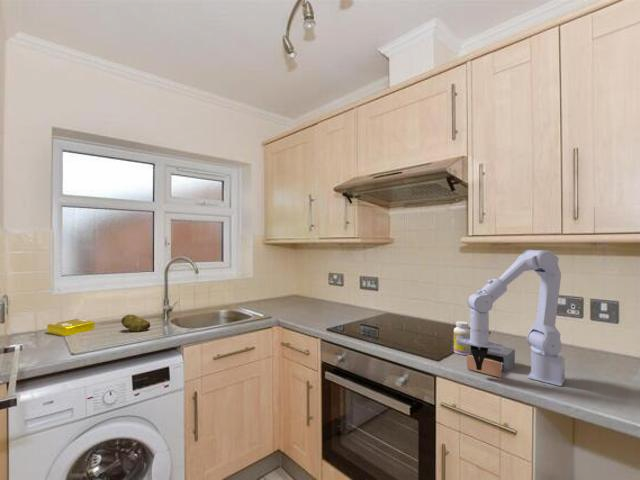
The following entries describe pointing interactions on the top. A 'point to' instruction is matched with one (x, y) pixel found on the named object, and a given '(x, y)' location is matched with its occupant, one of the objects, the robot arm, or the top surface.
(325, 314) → the top surface
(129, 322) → the potato
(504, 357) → the storage box
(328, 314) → the top surface
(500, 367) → the drawer
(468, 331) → the supplement bottle
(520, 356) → the top surface
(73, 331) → the element tile
